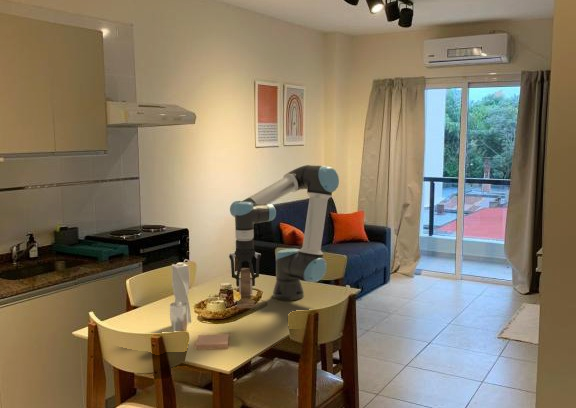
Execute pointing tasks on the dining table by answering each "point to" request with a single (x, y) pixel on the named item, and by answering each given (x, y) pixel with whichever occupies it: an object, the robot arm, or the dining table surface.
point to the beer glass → (179, 316)
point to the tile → (212, 341)
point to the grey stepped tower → (245, 290)
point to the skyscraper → (181, 284)
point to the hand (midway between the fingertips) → (245, 293)
